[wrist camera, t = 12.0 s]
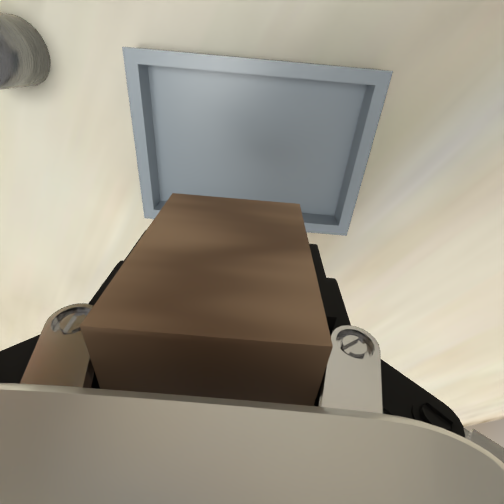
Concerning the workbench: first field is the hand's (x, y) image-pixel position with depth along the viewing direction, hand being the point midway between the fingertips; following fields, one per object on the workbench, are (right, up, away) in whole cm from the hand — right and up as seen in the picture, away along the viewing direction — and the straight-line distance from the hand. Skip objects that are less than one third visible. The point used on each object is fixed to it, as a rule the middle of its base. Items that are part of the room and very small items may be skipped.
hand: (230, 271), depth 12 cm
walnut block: (0, +1, +1) cm, 1 cm away
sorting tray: (+1, +11, +17) cm, 20 cm away
